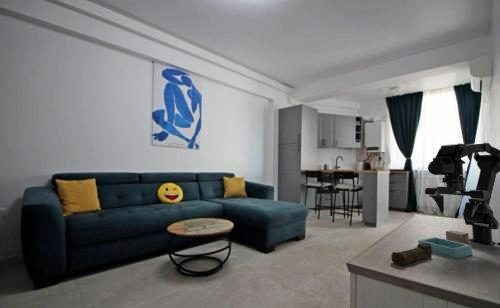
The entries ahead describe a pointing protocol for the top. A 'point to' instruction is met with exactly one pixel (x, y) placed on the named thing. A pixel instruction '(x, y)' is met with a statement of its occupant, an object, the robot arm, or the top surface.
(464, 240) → the walnut block
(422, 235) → the top surface
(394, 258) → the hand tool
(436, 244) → the tray
